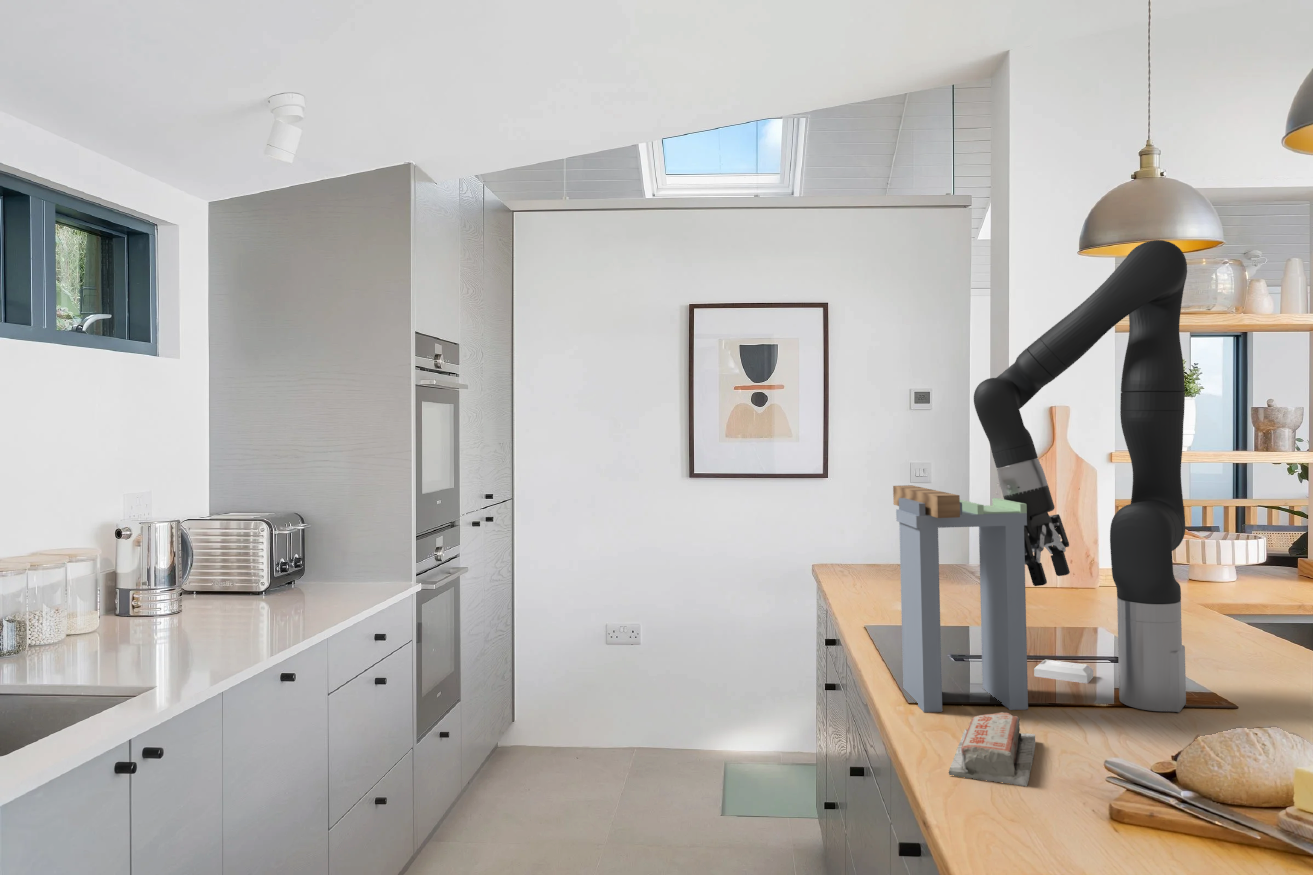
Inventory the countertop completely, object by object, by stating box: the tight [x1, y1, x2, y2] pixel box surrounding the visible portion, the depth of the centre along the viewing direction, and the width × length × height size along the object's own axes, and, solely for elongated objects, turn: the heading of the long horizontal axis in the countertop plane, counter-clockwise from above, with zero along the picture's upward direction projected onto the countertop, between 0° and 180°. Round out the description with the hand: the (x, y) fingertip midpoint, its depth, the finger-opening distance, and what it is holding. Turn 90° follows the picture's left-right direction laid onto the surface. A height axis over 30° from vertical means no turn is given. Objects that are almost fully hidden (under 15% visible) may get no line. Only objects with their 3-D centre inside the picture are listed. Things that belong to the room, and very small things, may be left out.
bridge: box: [895, 497, 1029, 713], centre depth 152 cm, size 12×18×34 cm, turn 90°
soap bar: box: [1033, 659, 1094, 684], centre depth 165 cm, size 5×9×3 cm, turn 53°
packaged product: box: [948, 712, 1036, 787], centre depth 126 cm, size 18×5×10 cm
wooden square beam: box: [892, 484, 961, 518], centre depth 155 cm, size 26×4×4 cm, turn 0°
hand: (1052, 580), depth 155 cm, fingers open, 8 cm apart
